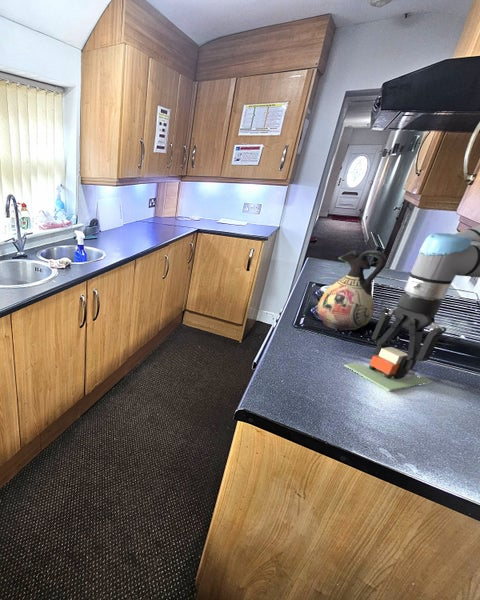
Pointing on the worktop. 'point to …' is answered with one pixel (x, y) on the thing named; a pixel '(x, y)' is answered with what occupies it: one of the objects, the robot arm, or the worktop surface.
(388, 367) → the toy car
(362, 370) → the mat
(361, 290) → the ceramic jug
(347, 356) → the worktop surface
